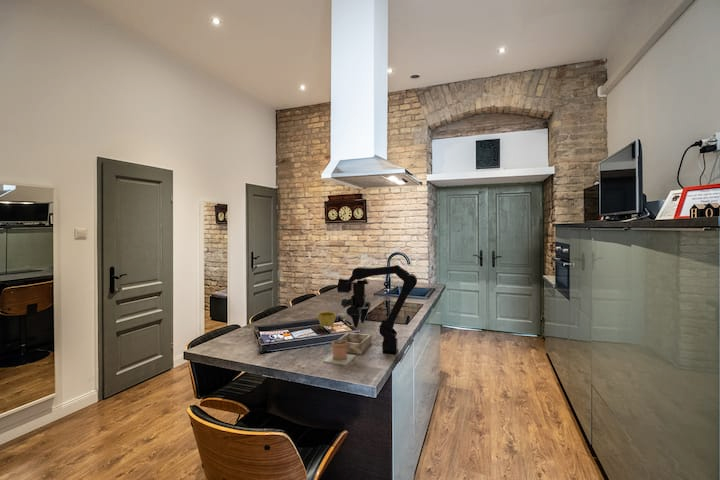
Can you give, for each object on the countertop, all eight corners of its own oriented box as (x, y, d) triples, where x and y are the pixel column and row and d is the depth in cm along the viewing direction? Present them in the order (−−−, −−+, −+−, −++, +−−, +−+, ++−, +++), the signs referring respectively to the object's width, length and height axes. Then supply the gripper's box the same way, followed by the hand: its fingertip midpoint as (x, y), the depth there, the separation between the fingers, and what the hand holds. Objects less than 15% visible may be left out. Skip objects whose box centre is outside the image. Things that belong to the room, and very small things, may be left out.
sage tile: (355, 356, 155) (355, 355, 155) (346, 365, 145) (346, 363, 145) (333, 354, 159) (333, 352, 159) (323, 362, 149) (323, 360, 149)
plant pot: (332, 333, 194) (332, 316, 194) (315, 332, 196) (315, 315, 196) (337, 328, 204) (337, 312, 204) (321, 327, 206) (321, 311, 206)
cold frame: (371, 343, 174) (371, 334, 174) (361, 353, 159) (361, 344, 159) (347, 341, 179) (347, 332, 179) (335, 350, 163) (334, 341, 163)
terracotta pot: (350, 356, 154) (350, 340, 154) (344, 361, 148) (344, 344, 147) (335, 354, 157) (335, 338, 157) (329, 359, 150) (329, 343, 150)
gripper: (350, 289, 176) (350, 319, 176) (336, 295, 159) (336, 328, 159) (370, 290, 172) (371, 321, 173) (358, 296, 155) (358, 330, 155)
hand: (359, 325), depth 165 cm, fingers open, 9 cm apart
